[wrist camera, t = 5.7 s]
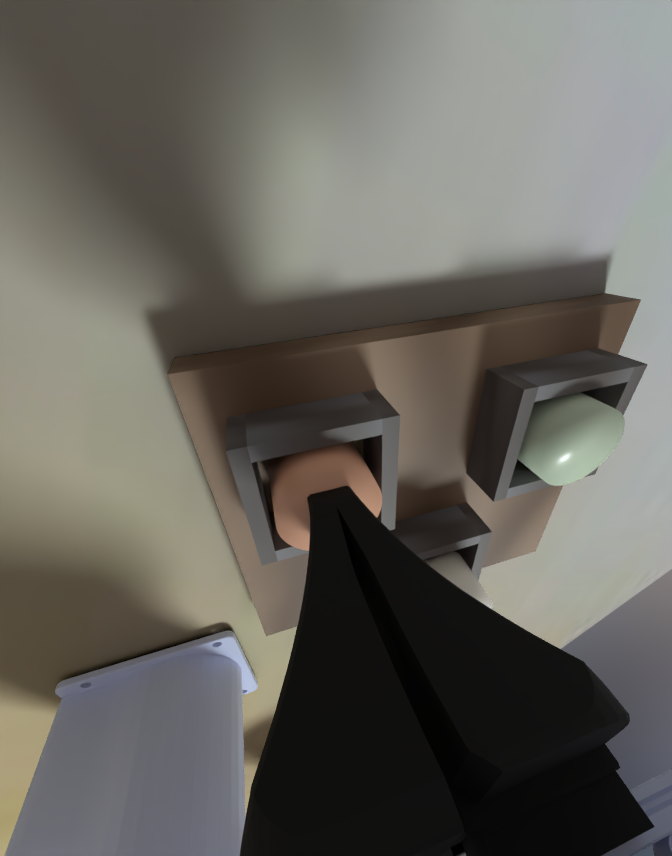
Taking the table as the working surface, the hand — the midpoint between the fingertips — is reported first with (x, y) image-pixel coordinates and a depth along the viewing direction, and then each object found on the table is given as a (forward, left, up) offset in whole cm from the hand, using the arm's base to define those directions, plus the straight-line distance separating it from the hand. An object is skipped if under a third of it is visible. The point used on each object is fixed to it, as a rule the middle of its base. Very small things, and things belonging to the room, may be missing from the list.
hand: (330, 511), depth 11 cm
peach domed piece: (0, 0, -2) cm, 2 cm away
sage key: (+10, 0, -2) cm, 10 cm away
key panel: (+5, -4, -4) cm, 7 cm away
